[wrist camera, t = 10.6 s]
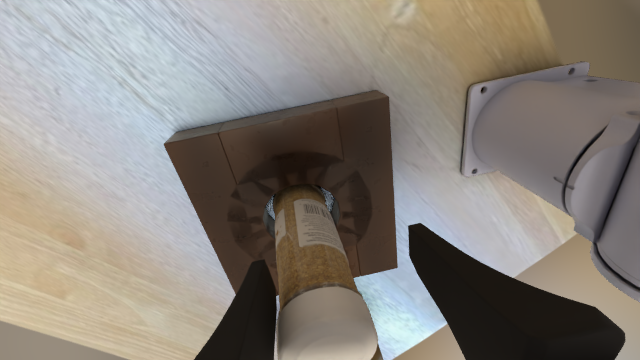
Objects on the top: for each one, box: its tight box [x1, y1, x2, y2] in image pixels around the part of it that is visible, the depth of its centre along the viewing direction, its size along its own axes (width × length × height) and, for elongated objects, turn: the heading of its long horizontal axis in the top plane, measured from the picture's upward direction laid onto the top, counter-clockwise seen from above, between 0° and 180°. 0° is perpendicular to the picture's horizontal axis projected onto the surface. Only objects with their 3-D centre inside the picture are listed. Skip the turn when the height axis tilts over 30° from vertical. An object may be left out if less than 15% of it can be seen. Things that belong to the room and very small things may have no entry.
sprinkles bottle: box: [273, 183, 378, 360], centre depth 18 cm, size 5×5×13 cm
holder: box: [164, 90, 398, 296], centre depth 23 cm, size 15×16×2 cm
